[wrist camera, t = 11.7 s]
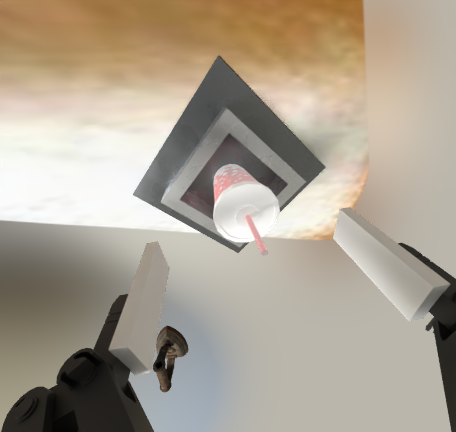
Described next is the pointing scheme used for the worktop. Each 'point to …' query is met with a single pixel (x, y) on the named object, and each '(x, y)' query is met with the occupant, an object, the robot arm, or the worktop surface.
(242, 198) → the beverage cup
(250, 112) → the socket holder
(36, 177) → the worktop surface
